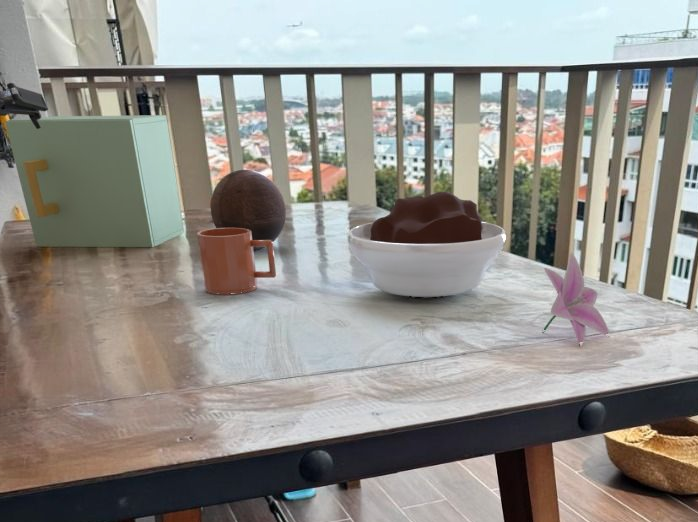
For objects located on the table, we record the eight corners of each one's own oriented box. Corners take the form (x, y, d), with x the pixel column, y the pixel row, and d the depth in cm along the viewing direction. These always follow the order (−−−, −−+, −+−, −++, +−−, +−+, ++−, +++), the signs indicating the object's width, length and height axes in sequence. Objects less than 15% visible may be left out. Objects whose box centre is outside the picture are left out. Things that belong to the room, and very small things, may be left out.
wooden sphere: (303, 248, 157) (297, 168, 150) (247, 259, 148) (237, 175, 140) (258, 240, 166) (250, 164, 158) (201, 250, 156) (190, 170, 148)
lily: (531, 360, 96) (575, 297, 89) (498, 303, 102) (536, 241, 96) (599, 374, 102) (644, 316, 96) (563, 319, 108) (603, 262, 102)
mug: (199, 295, 123) (191, 236, 119) (212, 283, 131) (204, 227, 126) (273, 294, 123) (267, 236, 118) (281, 282, 130) (275, 227, 126)
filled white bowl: (388, 320, 109) (385, 207, 101) (328, 285, 128) (322, 188, 120) (533, 300, 118) (541, 195, 110) (456, 270, 137) (459, 179, 129)
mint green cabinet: (140, 253, 154) (116, 121, 142) (20, 252, 156) (-14, 122, 144) (154, 246, 160) (131, 119, 148) (38, 245, 163) (7, 120, 150)
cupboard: (154, 247, 161) (132, 118, 148) (39, 246, 163) (8, 119, 151) (184, 232, 176) (166, 115, 163) (79, 232, 178) (53, 116, 166)
